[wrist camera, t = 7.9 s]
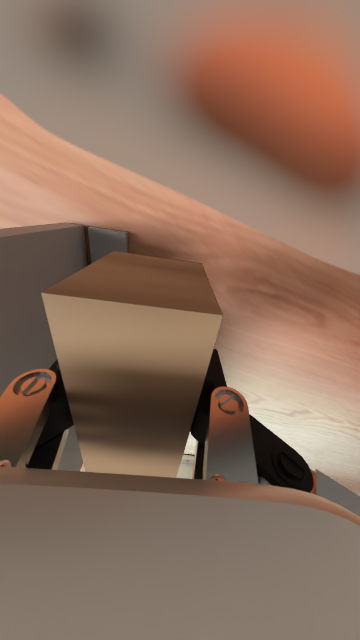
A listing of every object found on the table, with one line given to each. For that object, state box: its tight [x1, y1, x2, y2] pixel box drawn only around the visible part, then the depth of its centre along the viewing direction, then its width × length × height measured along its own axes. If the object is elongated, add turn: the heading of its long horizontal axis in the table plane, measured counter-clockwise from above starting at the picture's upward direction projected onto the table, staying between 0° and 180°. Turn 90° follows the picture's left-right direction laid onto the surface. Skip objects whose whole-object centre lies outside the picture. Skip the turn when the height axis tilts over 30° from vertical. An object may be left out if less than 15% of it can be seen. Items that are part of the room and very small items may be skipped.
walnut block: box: [41, 251, 223, 478], centre depth 9 cm, size 9×4×5 cm, turn 172°
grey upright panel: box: [0, 223, 128, 471], centre depth 22 cm, size 34×7×18 cm, turn 172°
